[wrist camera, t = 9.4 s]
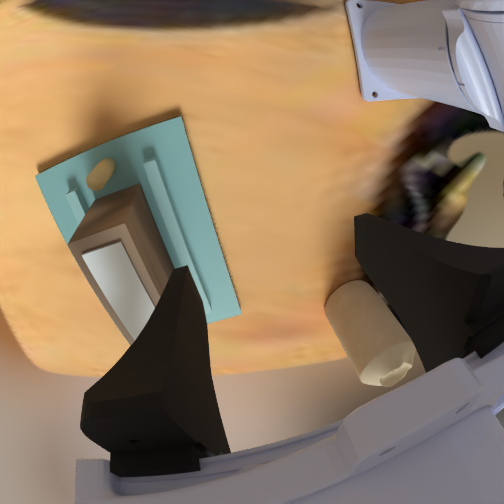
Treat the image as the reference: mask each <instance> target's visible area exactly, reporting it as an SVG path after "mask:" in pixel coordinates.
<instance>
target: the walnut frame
mask: <svg viewBox="0 0 504 504" xmlns="http://www.w3.org/2000/svg"><path fill="white" fill-rule="evenodd" d="M67 245H68V247H69V248H70V250H71V252H72V254H73V256H74V258H75V259H76V261H77V263H78V265H79V266H80V268H81V270H82V272H83V273H84V275H85V277H86V278H87V280H88V282H89V283H90V285H91V287H92V288H93V290H94V292H95V293H96V295H97V296H98V298H99V300H100V301H101V303H102V304H103V306H104V307H105V309H106V310H107V312H108V313H109V315H110V316H111V318H112V319H113V321H114V322H115V324H116V325H117V327H118V328H119V330H120V331H121V332H122V334H123V335H124V337H125V338H126V339H127V341H128V342H129V344H130V345H132V344H133V342H134V341H135V340H136V338H137V337H138V335H139V334H140V332H141V331H142V330H143V328H144V326H145V325H146V323H147V322H148V320H149V318H150V316H151V314H152V313H153V311H154V309H155V307H156V305H157V303H158V301H159V299H160V297H161V295H162V293H163V291H164V288H165V286H166V284H167V282H168V280H169V277H170V275H171V273H172V271H173V269H175V268H174V265H173V263H172V261H171V259H170V256H169V254H168V251H167V249H166V247H165V244H164V242H163V239H162V237H161V235H160V232H159V230H158V227H157V225H156V222H155V220H154V217H153V215H152V212H151V210H150V207H149V204H148V202H147V199H146V196H145V194H144V191H143V188H142V186H141V183H139V184H136V185H133V186H130V187H128V188H125V189H122V190H119V191H117V192H114V193H111V194H109V195H106V196H104V197H101V198H98V199H96V200H94V202H93V203H92V205H91V206H90V208H89V210H88V211H87V213H86V214H85V216H84V217H83V219H82V221H81V222H80V224H79V226H78V227H77V229H76V230H75V232H74V234H73V236H72V237H71V239H70V241H69V242H68V244H67Z"/></svg>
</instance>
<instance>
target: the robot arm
mask: <svg viewBox="0 0 504 504" xmlns="http://www.w3.org/2000/svg"><path fill="white" fill-rule="evenodd" d="M357 3H358V4H359V5H360V8H358V7H357ZM345 6H346V11H347V15H348V19H349V24H350V29H351V34H352V39H353V44H354V50H355V56H356V62H357V68H358V74H359V81H360V89H361V96H362V98H363V100H365V101H369V102H371V101H381V100H394V99H409V98H424V99H429V100H433V101H437V102H441V103H445V104H449V105H452V106H456V107H460V108H463V109H466V110H470V111H473V112H476V113H479V114H482V115H484V116H485V117H486V119H487V120H488V123H489V125H490V127H492V128H495V129H497V130H500V131H502V132H504V0H424V1H417V2H411V3H405V4H396V3H389V2H381V1H371V0H347V1H346V3H345ZM373 92H375V96H374V97H373V96H372V93H373ZM354 226H355V256H356V258H357V260H358V261H359V263H360V265H361V267H362V268H363V270H364V271H365V273H366V274H367V276H368V277H369V278H370V279H371V281H372V282H373V283H374V284H375V286H376V287H377V288H378V289H379V291H380V292H381V293H382V294H383V296H384V297H385V298H386V300H387V301H388V302H389V303H390V305H391V306H392V307H393V309H394V310H395V312H396V313H397V315H398V316H399V318H400V320H401V321H402V323H403V325H404V327H405V328H406V330H407V332H408V334H409V336H410V338H411V340H412V342H413V344H414V346H415V348H416V350H417V352H418V354H419V356H420V359H421V361H422V363H423V366H424V368H425V371H426V374H424V375H422V376H420V377H418V378H416V379H414V380H413V381H411V382H409V383H407V384H405V385H403V386H401V387H399V388H397V389H394V390H392V391H390V392H388V393H386V394H384V395H382V396H380V397H377V398H375V399H373V400H371V401H370V402H368V403H366V404H364V405H362V406H361V407H358V408H357V409H356V410H355V411H353V412H352V413H351V414H349V415H348V416H346V417H345V418H344V419H343V420H341V421H338V422H336V423H333V424H331V425H328V426H325V427H322V428H319V429H316V430H313V431H310V432H307V433H304V434H301V435H298V436H295V437H292V438H288V439H285V440H281V441H278V442H274V443H271V444H267V445H263V446H259V447H255V448H251V449H247V450H243V451H238V452H233V453H231V451H230V448H229V445H228V442H227V438H226V435H225V431H224V427H223V423H222V419H221V416H220V412H219V407H218V403H217V399H216V394H215V390H214V386H213V380H212V375H211V368H210V356H209V343H208V329H207V320H206V315H205V310H204V305H203V301H202V298H201V296H200V294H199V291H198V289H197V287H196V284H195V282H194V279H193V277H192V275H191V272H190V270H189V267H188V265H186V266H183V267H179V268H176V269H173V271H172V273H171V275H170V277H169V280H168V282H167V284H166V286H165V288H164V291H163V293H162V295H161V297H160V299H159V301H158V303H157V305H156V307H155V309H154V311H153V313H152V314H151V316H150V318H149V320H148V322H147V323H146V325H145V326H144V328H143V330H142V331H141V332H140V334H139V335H138V337H137V338H136V340H135V341H134V342H133V344H132V345H131V346H130V347H129V349H128V350H127V351H126V352H125V354H124V355H123V356H122V357H121V358H120V360H119V361H118V362H117V363H116V364H115V365H114V366H113V367H112V368H111V369H110V370H109V371H108V372H107V373H106V374H105V375H104V376H103V377H102V378H101V379H100V380H99V381H97V382H96V383H95V384H94V385H93V386H92V387H91V388H89V389H88V390H87V391H86V392H85V393H84V399H83V405H82V413H81V423H80V428H81V430H82V432H83V433H84V434H85V435H86V436H87V437H88V438H89V439H90V440H92V441H93V442H95V443H96V444H98V445H99V446H101V447H102V448H104V449H106V450H107V451H108V452H110V453H111V454H110V461H109V460H105V459H77V460H76V476H75V504H504V429H503V428H502V426H501V424H500V423H499V421H498V420H497V418H496V416H495V415H496V414H497V413H498V412H499V411H500V410H501V409H503V408H504V248H488V247H479V246H471V245H465V244H460V243H455V242H451V241H447V240H443V239H439V238H435V237H432V236H429V235H426V234H423V233H420V232H417V231H414V230H411V229H409V228H406V227H403V226H401V225H398V224H396V223H393V222H390V221H388V220H385V219H383V218H380V217H377V216H374V215H371V214H368V213H365V214H362V215H358V216H355V217H354Z"/></svg>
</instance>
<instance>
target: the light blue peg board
mask: <svg viewBox="0 0 504 504" xmlns="http://www.w3.org/2000/svg"><path fill="white" fill-rule="evenodd" d="M35 177H36V180H37V182H38V185H39V187H40V189H41V192H42V194H43V196H44V198H45V201H46V203H47V205H48V207H49V209H50V211H51V213H52V216H53V218H54V220H55V222H56V224H57V226H58V228H59V230H60V232H61V234H62V236H63V238H64V239H65V241H66V243H67V244H68V242H69V241H70V239H71V237H72V236H73V234H74V232H75V230H76V229H77V227H78V226H79V224H80V222H81V221H82V219H83V217H84V216H85V214H86V213H87V211H88V210H89V208H90V206H91V205H92V203H93V202H94V200H96V199H98V198H101V197H104V196H106V195H109V194H111V193H114V192H117V191H119V190H122V189H125V188H128V187H130V186H133V185H136V184H139V183H141V186H142V188H143V191H144V194H145V196H146V199H147V202H148V204H149V207H150V210H151V212H152V215H153V217H154V220H155V222H156V225H157V227H158V230H159V232H160V235H161V237H162V239H163V242H164V244H165V247H166V249H167V251H168V254H169V256H170V259H171V261H172V263H173V265H174V268H175V269H176V268H179V267H183V266H186V265H188V267H189V270H190V272H191V275H192V277H193V279H194V282H195V284H196V287H197V289H198V291H199V294H200V296H201V298H202V301H203V305H204V310H205V315H206V320H207V324H208V323H212V322H215V321H219V320H223V319H226V318H230V317H233V316H237V315H240V314H242V312H241V309H240V306H239V303H238V300H237V297H236V294H235V291H234V288H233V285H232V281H231V278H230V275H229V272H228V269H227V266H226V263H225V260H224V257H223V253H222V250H221V247H220V244H219V241H218V238H217V234H216V231H215V228H214V225H213V222H212V218H211V215H210V212H209V208H208V205H207V202H206V199H205V195H204V192H203V189H202V185H201V182H200V179H199V175H198V172H197V169H196V165H195V162H194V158H193V155H192V151H191V148H190V145H189V141H188V138H187V134H186V131H185V127H184V123H183V120H182V116H178V117H175V118H172V119H169V120H166V121H163V122H160V123H157V124H154V125H151V126H148V127H145V128H142V129H139V130H137V131H134V132H131V133H128V134H126V135H123V136H121V137H118V138H115V139H113V140H110V141H108V142H105V143H103V144H101V145H98V146H96V147H94V148H91V149H89V150H87V151H84V152H82V153H80V154H78V155H76V156H73V157H71V158H69V159H67V160H65V161H63V162H61V163H59V164H57V165H55V166H53V167H51V168H49V169H47V170H45V171H43V172H41V173H39V174H37V175H36V176H35ZM69 249H70V248H69ZM70 251H71V250H70ZM71 253H72V252H71ZM75 260H76V259H75ZM76 262H77V261H76ZM79 267H80V266H79ZM80 269H81V268H80ZM83 274H84V273H83ZM86 279H87V278H86ZM87 281H88V280H87ZM89 284H90V283H89ZM92 289H93V288H92ZM95 294H96V293H95ZM97 297H98V296H97ZM100 302H101V301H100ZM102 305H103V304H102ZM104 308H105V307H104ZM106 311H107V310H106ZM108 314H109V313H108ZM110 317H111V316H110ZM112 320H113V319H112ZM114 323H115V322H114ZM116 326H117V325H116ZM121 333H122V332H121ZM123 336H124V335H123ZM126 340H127V339H126ZM128 343H129V342H128Z"/></svg>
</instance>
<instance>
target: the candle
mask: <svg viewBox="0 0 504 504" xmlns="http://www.w3.org/2000/svg"><path fill="white" fill-rule="evenodd" d="M325 314H326V317H327V319H328V321H329V323H330V324H331V326H332V328H333V330H334V332H335V333H336V335H337V337H338V339H339V341H340V343H341V345H342V346H343V348H344V350H345V352H346V354H347V356H348V358H349V359H350V361H351V363H352V365H353V367H354V369H355V371H356V372H357V375H358V376H359V378H360V380H361V382H363V383H365V384H369V385H378V386H388V387H389V386H393V385H394V384H396V383H397V382H398V381H400V380H401V379H402V378H403V377H405V376H406V373H407V371H408V369H410V368H411V367H412V363H413V358H414V353H415V346H414V344H413V342H412V340H411V339H410V337H409V336H408V334H407V333H406V332H405V330H404V329H403V327H402V326H401V325H400V323H399V322H398V321H397V319H396V318H395V317H394V315H393V314H392V313H391V311H390V310H389V309H388V307H387V306H386V305H385V303H384V302H383V301H382V299H381V298H380V297H379V295H378V294H377V293H376V292H375V290H374V289H373V288H372V287H371V286H370V285H369V284H368V283H367V282H365V281H362V280H355V281H350V282H348V283H345V284H343V285H342V286H340V287H339V288H337V289H336V290H335V291H334V292H333V293H332V294H331V295H330V297H329V298H328V300H327V302H326V305H325Z"/></svg>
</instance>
